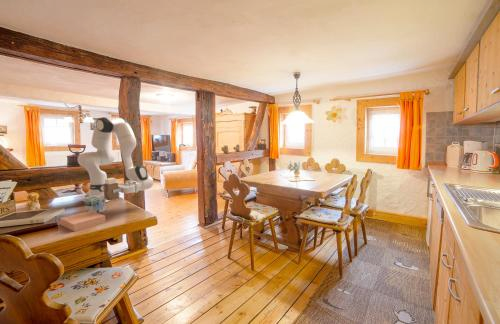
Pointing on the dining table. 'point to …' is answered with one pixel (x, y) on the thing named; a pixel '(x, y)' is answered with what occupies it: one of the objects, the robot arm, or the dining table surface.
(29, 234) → the dining table surface
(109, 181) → the cargo block
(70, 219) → the dock
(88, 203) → the light bulb box
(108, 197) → the walnut crate
